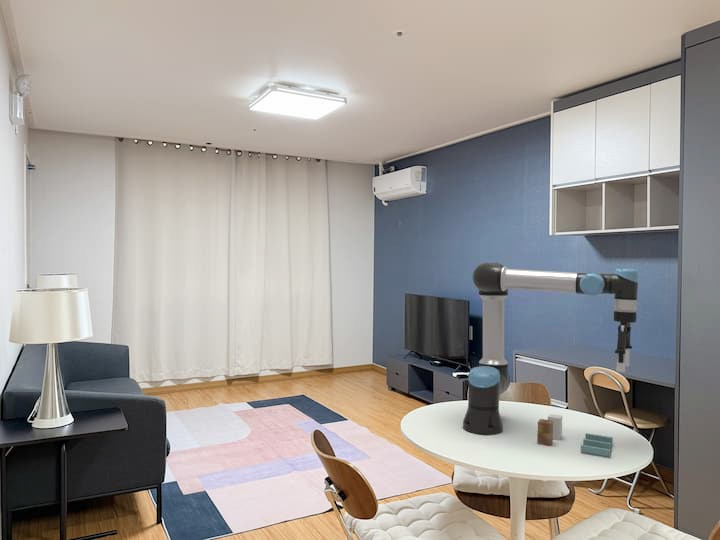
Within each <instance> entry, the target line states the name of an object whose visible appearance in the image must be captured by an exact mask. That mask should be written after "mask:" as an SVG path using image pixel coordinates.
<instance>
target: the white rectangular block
mask: <svg viewBox="0 0 720 540" xmlns="http://www.w3.org/2000/svg"><path fill="white" fill-rule="evenodd" d="M547 420H551V421H553V438H552V440H556V441H561V440H562V437H563V415H560V414H554V413H549V414H548V416H547Z"/></svg>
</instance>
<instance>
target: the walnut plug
mask: <svg viewBox="0 0 720 540" xmlns="http://www.w3.org/2000/svg"><path fill="white" fill-rule="evenodd" d="M552 438H553V421H551V420H548V419H545V418H539V419H538V421H537V439H536V442H537V443H536V444H537V445H540V446H546V447H551V446H552V444H553V439H552Z"/></svg>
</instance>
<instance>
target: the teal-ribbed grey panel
mask: <svg viewBox="0 0 720 540" xmlns="http://www.w3.org/2000/svg"><path fill="white" fill-rule="evenodd" d="M584 436H585V437H584V438H583V442H582V443H583V444H581V445H580V454H585V455H590V456H595V457H602V458H608V459H610V457H611V452H612V448H613V441H614V440H613V438H614V437H612V436H608V435H600V434H594V433H588V432H587V433H586V432H585V435H584Z"/></svg>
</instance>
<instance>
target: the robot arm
mask: <svg viewBox="0 0 720 540" xmlns="http://www.w3.org/2000/svg"><path fill="white" fill-rule="evenodd" d="M472 284H474V286H475V287H476V288H477V289H478V296H479V298H480V299H481V300H482V358H481V359H480V360H479V362H478V366H475V367H472V368H471V369H470V370H469V373H468V393H467V394H468V398H467V399H468V403H467V404H468V405H467V409H466V412H465V415H464V418H463V421H462V428H463V430H465V431H467V432H470V433H472V434H476V435H488V436H491V435H499V434H501V433H502V432H503V431H504V424H503V421H502V417H501V414H500V409H499V408H500V395H501V394H503V393H505V392H507V390H508V388H509V387H510V385H511V383H512V382H511V381H512V380H511V379H512V376H511V372H510V370H509V362H508V361H507V360H506V358H505V299H507V297H508V296H509V290H519V291H520V290H522V291H533V292H534V291H535V292H547V293H548V292H551V293H563V294H565V293H566V294H567V293H568V294H578V295H588V296H597V295H599V294H601V295H602V294H607V295H614V299H613V309H614V311H613V321H614V322H619V323H620V325H618V326H617V345H616V349H615V350H614V353H615V354H616V370H615V371H616V372H620V373H626V367H630V355H631V354H630V350H631V349H633V348H632V347H633V346H632V345H631V331H632V327H631V323H637V312H636V311H637V309H638V308H637V306H639V304H640V303H639V302H638V287H639V286H638V285H639V273H638V271H637V270H636V269H634V268H633V269H632V268H631V269H630V268H616V269H615V272H614V273H597V272H571V271H570V272H569V271H552V270H531V269H518V268H517V269H513V268H508V267H507V266H505V265H503V264H501V263H499V262H483V263H480V264H478V265H477V266H476V267H475V269H474V270H473V273H472Z"/></svg>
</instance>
